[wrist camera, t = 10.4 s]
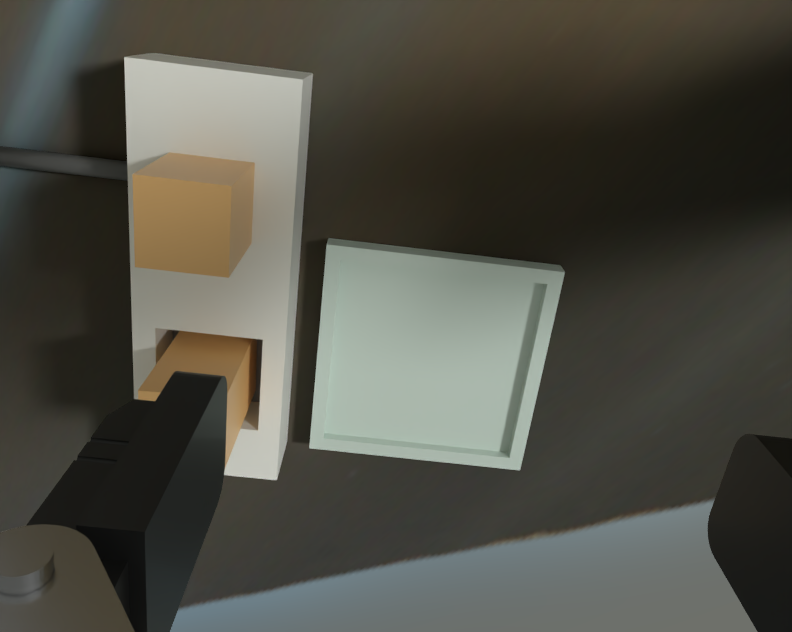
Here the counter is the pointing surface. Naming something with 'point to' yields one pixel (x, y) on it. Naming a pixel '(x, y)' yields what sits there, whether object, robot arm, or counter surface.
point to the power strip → (265, 266)
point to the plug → (210, 372)
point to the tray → (430, 353)
